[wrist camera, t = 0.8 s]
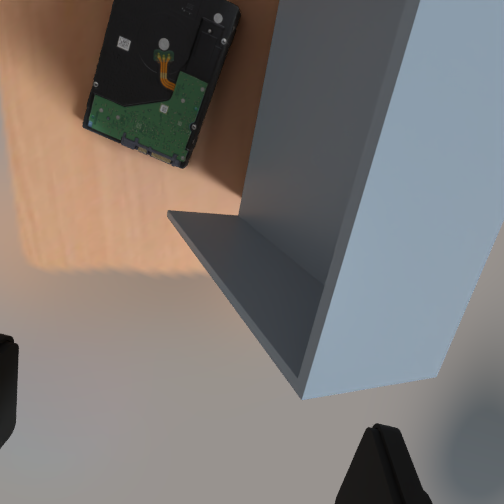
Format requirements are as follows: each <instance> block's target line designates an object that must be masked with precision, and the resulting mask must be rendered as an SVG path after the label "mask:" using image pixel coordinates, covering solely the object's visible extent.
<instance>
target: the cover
mask: <svg viewBox="0 0 504 504" xmlns="http://www.w3.org/2000/svg"><path fill="white" fill-rule="evenodd" d="M167 217H168V219H169V220H170V221H171V223H172V224H173V225H174V227H175V228H176V229H177V231H178V232H179V234H180V235H181V236H182V238H183V239H184V240H185V242H186V243H187V244H188V246H189V247H190V249H191V250H192V251H193V253H194V254H195V255H196V257H197V258H198V259H199V261H200V262H201V264H202V265H203V266H204V268H205V269H206V270H207V272H208V273H209V274H210V276H211V277H212V279H213V280H214V281H215V283H216V284H217V285H218V286H219V288H220V289H221V291H222V292H223V293H224V295H225V296H226V297H227V299H228V300H229V302H230V303H231V304H232V306H233V307H234V308H235V310H236V311H237V312H238V314H239V315H240V316H241V318H242V319H243V321H244V322H245V323H246V325H247V326H248V327H249V329H250V330H251V332H252V333H253V334H254V336H255V337H256V338H257V340H258V341H259V343H260V344H261V345H262V347H263V348H264V349H265V351H266V352H267V353H268V355H269V356H270V357H271V359H272V360H273V362H274V363H275V364H276V366H277V367H278V368H279V370H280V371H281V372H282V373H283V375H284V376H285V378H286V379H287V381H288V382H289V383H290V385H291V386H292V387H293V389H294V390H295V392H296V393H297V394H298V396H299V397H300V398H301V400H305V399H310V398H317V397H323V396H329V395H335V394H340V393H346V392H352V391H358V390H364V389H369V388H375V387H381V386H387V385H393V384H399V383H405V382H411V381H416V380H422V379H428V378H434V377H436V376H437V375H438V372H439V370H440V367H441V365H442V363H443V361H444V358H445V356H446V354H447V351H448V349H449V347H450V344H451V342H452V340H453V337H454V335H455V333H456V330H457V328H458V326H459V323H460V321H461V319H462V316H463V314H464V311H465V309H466V307H467V305H468V302H469V300H470V298H471V295H472V293H473V291H474V288H475V286H476V283H477V281H478V279H479V277H480V274H481V272H482V270H483V267H484V265H485V263H486V260H487V258H488V256H489V253H490V251H491V249H492V246H493V244H494V242H495V239H496V237H497V235H498V232H499V230H500V228H501V225H502V223H503V221H504V0H280V1H279V6H278V11H277V16H276V21H275V27H274V32H273V37H272V42H271V48H270V53H269V58H268V63H267V68H266V74H265V79H264V84H263V89H262V94H261V100H260V105H259V110H258V115H257V120H256V126H255V131H254V136H253V141H252V147H251V152H250V157H249V162H248V167H247V173H246V178H245V183H244V188H243V193H242V199H241V204H240V209H239V214H238V216H237V215H223V214H210V213H197V212H184V211H171V210H168V212H167Z"/></svg>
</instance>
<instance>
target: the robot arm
mask: <svg viewBox="0 0 504 504" xmlns="http://www.w3.org/2000/svg"><path fill="white" fill-rule="evenodd" d="M18 354H19V346H18V344H16V343H14V339H13V337H11V336H8V335H4V334H0V448H1V447H2V446H3V445H4V443H5V442H6V441H7V440H8V439H9V437H10V436H11V434H12V432H13V430H14V428H15V424H16V405H17V379H18ZM335 504H432V501H431V499H430V498H429V496H428V494H427V493H426V492H425V491H424V490H423V488H422V486H421V483H420V481H419V478H418V476H417V473H416V470H415V468H414V465H413V463H412V460H411V457H410V455H409V452H408V450H407V447H406V444H405V442H404V439H403V437H402V434H401V432H400V430H399V429H398V428H395V427H391V426H386V425H382V424H378V423H377V424H375V425H374V426H373V427H372V428H370V427H368V428H367V429H366V431H365V433H364V435H363V437H362V439H361V442H360V444H359V446H358V449H357V451H356V453H355V455H354V458H353V460H352V462H351V465H350V467H349V469H348V472H347V474H346V476H345V478H344V481H343V483H342V485H341V488H340V490H339V492H338V495H337V497H336V501H335Z"/></svg>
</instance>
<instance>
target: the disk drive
mask: <svg viewBox="0 0 504 504" xmlns="http://www.w3.org/2000/svg"><path fill="white" fill-rule="evenodd" d="M240 16H241V13H240V10H239V7H238V6H236V5H235V4H233V3H231V2H228V1H226V0H114V2H113V5H112V11H111V15H110V18H109V22H108V26H107V30H106V34H105V38H104V43H103V47H102V50H101V53H100V54H101V55H100V58H99V63H98V65H97V69H96V74H95V77H94V82H93V86H92V89H91V92H90V95H89V99H88V103H87V110H86V113H85V116H84V121H83V128H85V129H87V130H90V131H92V132H94V133H97V134H99V135H101V136H104V137H106V138H108V139H111V140H113V141H115V142H118V143H121V144H122V145H124V146H126V147H129V148H131V149H133V150H134V149H136V150H138V151H139V152H142V153H144V154H146V155H147V154H148V155H150V156H151V157H154V158H156V159H158V160H161V161H163V162H165V163H168V164H172V166H176V167H179V168H182V169H183V168H185V167H186V166H187V165H188V162H189V159H190V156H191V154H192V151H193V149H194V147H195V144H196V141H197V139H198V134H199V131H200V129H201V126H202V123H203V120H204V118H205V114H206V112H207V109H208V106H209V103H210V101H211V98H212V95H213V92H214V89H215V87H216V84H217V81H218V78H219V75H220V72H221V69H222V67H223V64H224V61H225V58H226V55H227V53H228V50H229V47H230V45H231V43H232V40H233V38H234V34H235V32H236V27H237V25H238V22H239V19H240Z"/></svg>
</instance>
